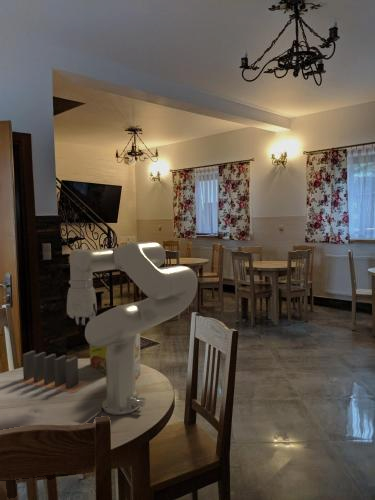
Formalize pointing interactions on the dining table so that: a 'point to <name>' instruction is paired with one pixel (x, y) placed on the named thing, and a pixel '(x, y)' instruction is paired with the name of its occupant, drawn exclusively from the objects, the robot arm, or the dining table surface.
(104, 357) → the food package
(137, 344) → the cracker box
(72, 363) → the domino
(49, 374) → the domino
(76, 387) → the domino board
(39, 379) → the domino
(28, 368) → the domino
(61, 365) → the domino
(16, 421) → the dining table surface
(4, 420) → the dining table surface
